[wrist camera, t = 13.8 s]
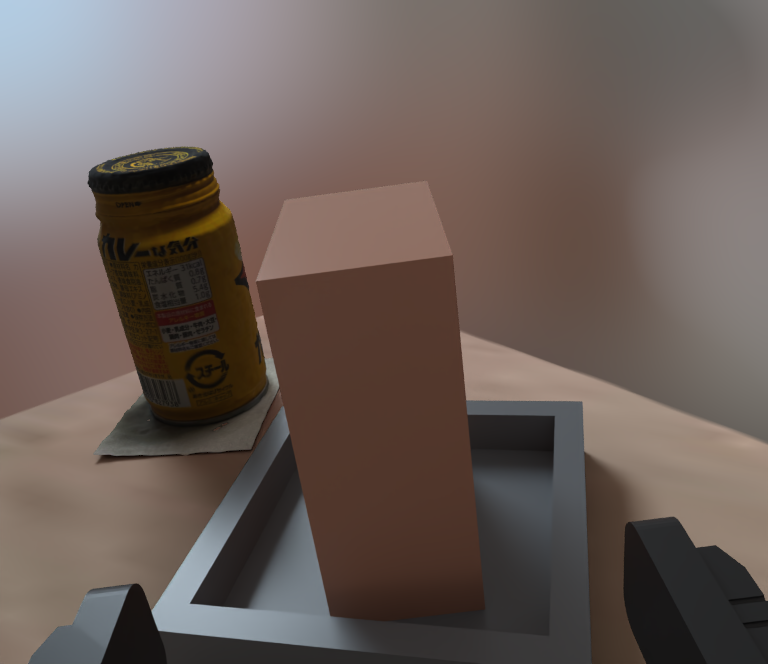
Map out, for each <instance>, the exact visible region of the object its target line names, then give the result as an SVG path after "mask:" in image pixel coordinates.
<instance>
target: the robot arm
mask: <svg viewBox="0 0 768 664" xmlns="http://www.w3.org/2000/svg"><path fill="white" fill-rule="evenodd" d="M624 601H625V607H626V612H627V616H628V620H629V623H630V626H631V629H632V631H633V634H634V636H635V639H636V641H637V643H638V645H639V648H640V650H641V652H642V655H643V657H644V659H645V661H646V664H768V601H766V600H765V598H764V594H763V593H762V591H761V590H760V589H759V587H758V586H757V584H756V583H755V581H754V580H753V578H752V577H751V575H750V574H749V572H748V571H747V569H746V568H745V567H744V566H742V565H741V564H740V563H738V562H737V561H736V560H735V559H733V558H732V557H731V556H729V555H728V554H727V553H725V552H724V551H723V550H721V549H720V548H719V547H717V546H716V545H715V546H707V547H699V548H696V547H695V546H694V544H693V542H692V541H691V539H690V538H689V536H688V534H687V533H686V531H685V529H684V528H683V526H682V525H681V523H680V522H679V521H678V519H676V518H675V517H666V518H658V519H651V520H643V521H635V522H628V523H627V524H626V527H625V547H624ZM28 664H167V659H166V652H165V648H164V645H163V642H162V639H161V636H160V634H159V631H158V628H157V626H156V623H155V620H154V617H153V615H152V612H151V609H150V607H149V604H148V601H147V598H146V596H145V593H144V591H143V589H142V587H141V586H140V585H139V584H128V585H120V586H112V587H105V588H97V589H92V590H90V591H89V592H88V593H87V594H86V596H85V598H84V600H83V602H82V604H81V606H80V609H79V611H78V613H77V615H76V618H75V620H74V622H73V624H72V625H69V626H61V627H57V628H56V630H55V631H54V632H53V633H52V634H51V635H50V636H49V637H48V638H47V640H46V641H45V642H44V643H43V644H42V645H41V646H40V647H39V648H38V650H37V651H36V652H35V653H34V654H33V655H32V657H31V659H30V661H29V663H28Z"/></svg>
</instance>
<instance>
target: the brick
mask: <svg viewBox="0 0 768 664" xmlns="http://www.w3.org/2000/svg"><path fill="white" fill-rule="evenodd" d="M256 284H257V288H258V293H259V297H260V302H261V306H262V311H263V315H264V320H265V324H266V329H267V333H268V338H269V342H270V347H271V351H272V356H273V360H274V365H275V369H276V374H277V378H278V383H279V387H280V392H281V396H282V401H283V405H284V410H285V414H286V419H287V423H288V428H289V432H290V437H291V441H292V446H293V450H294V455H295V459H296V464H297V469H298V473H299V478H300V482H301V487H302V491H303V496H304V500H305V505H306V509H307V514H308V518H309V523H310V527H311V532H312V536H313V541H314V545H315V550H316V554H317V559H318V563H319V568H320V572H321V577H322V581H323V586H324V590H325V595H326V599H327V604H328V608H329V613H330V616H331V617H342V618H353V619H365V620H376V621H391V620H400V619H408V618H417V617H425V616H434V615H442V614H451V613H459V612H468V611H476V610H485V600H484V590H483V579H482V568H481V557H480V546H479V535H478V525H477V514H476V503H475V492H474V481H473V470H472V460H471V449H470V438H469V427H468V416H467V405H466V395H465V384H464V373H463V362H462V351H461V340H460V330H459V319H458V308H457V297H456V286H455V276H454V265H453V255H452V252H451V249H450V246H449V243H448V240H447V238H446V235H445V232H444V229H443V226H442V223H441V220H440V217H439V215H438V212H437V209H436V206H435V203H434V200H433V197H432V195H431V192H430V189H429V186H428V183H427V181H421V182H414V183H406V184H400V185H392V186H384V187H377V188H370V189H362V190H355V191H347V192H340V193H333V194H325V195H318V196H310V197H303V198H296V199H288V200H285V202H284V205H283V207H282V210H281V213H280V216H279V218H278V221H277V224H276V227H275V230H274V232H273V235H272V238H271V241H270V244H269V246H268V249H267V252H266V255H265V257H264V260H263V263H262V266H261V269H260V272H259V274H258V277H257V280H256Z"/></svg>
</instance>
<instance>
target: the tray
mask: <svg viewBox="0 0 768 664" xmlns="http://www.w3.org/2000/svg"><path fill="white" fill-rule="evenodd" d="M466 405H467V416H468V427H469V438H470V449H471V460H472V470H473V481H474V492H475V503H476V514H477V525H478V535H479V546H480V557H481V568H482V579H483V590H484V600H485V610H476V611H468V612H459V613H451V614H442V615H434V616H425V617H417V618H408V619H400V620H391V621H376V620H365V619H353V618H342V617H331V616H330V613H329V608H328V604H327V599H326V595H325V590H324V586H323V581H322V577H321V572H320V568H319V563H318V559H317V554H316V550H315V545H314V541H313V536H312V532H311V527H310V523H309V518H308V514H307V509H306V505H305V500H304V496H303V491H302V487H301V482H300V478H299V473H298V469H297V464H296V459H295V455H294V450H293V446H292V441H291V437H290V432H289V428H288V423H287V419H286V414H285V410H284V405H283V406H282V408H281V409H280V411H279V413H278V414H277V416H276V417H275V419H274V420H273V422H272V424H271V425H270V427H269V428H268V430H267V431H266V433H265V435H264V436H263V438H262V439H261V441H260V442H259V444H258V446H257V447H256V449H255V450H254V452H253V453H252V455H251V457H250V458H249V460H248V461H247V463H246V464H245V466H244V468H243V469H242V471H241V472H240V474H239V475H238V477H237V479H236V480H235V482H234V483H233V485H232V486H231V488H230V489H229V491H228V493H227V494H226V496H225V497H224V499H223V500H222V502H221V504H220V505H219V507H218V508H217V510H216V511H215V513H214V515H213V516H212V518H211V519H210V521H209V522H208V524H207V526H206V527H205V529H204V530H203V532H202V533H201V535H200V537H199V538H198V540H197V541H196V543H195V544H194V546H193V548H192V549H191V551H190V552H189V554H188V555H187V557H186V559H185V560H184V562H183V563H182V565H181V566H180V568H179V570H178V571H177V573H176V574H175V576H174V577H173V579H172V580H171V582H170V584H169V585H168V587H167V588H166V590H165V591H164V593H163V595H162V596H161V598H160V599H159V601H158V602H157V604H156V606H155V607H154V609H153V610H152V615H153V617H154V620H155V623H156V626H157V628H158V631H159V634H160V636H161V639H162V642H163V645H164V648H165V652H166V659H167V664H592V656H591V628H590V601H589V573H588V545H587V517H586V489H585V462H584V434H583V406H582V402H573V401H466Z"/></svg>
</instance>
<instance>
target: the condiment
mask: <svg viewBox="0 0 768 664" xmlns="http://www.w3.org/2000/svg"><path fill="white" fill-rule="evenodd" d="M212 165H213V162H212V160H211V158H210V156H209V153H208V152H206V150H203V149H202V148H196V147H175V148H174V147H173V148H164V149H155V150H149V151H143V152H138V153H135V154H130V155H126V156H122V157H118V158H115V159H112V160H108V161H107V162H104V163H102V164H100V165H97V166H95V167H94V168H92V169H91V170H90V171H89V180H88V184H89V187H90V188H91V189H92V192H93V194H94V197H95V200H96V217H97V218H98V219H99V220H100V221H101V223H100V231H99V235H98V239H97V240H98V247H99V250H100V254H101V257H102V260H103V264H104V266H105V270H106V273H107V277H108V279H109V283H110V286H111V289H112V292H113V295H114V299H115V302H116V305H117V308H118V312H119V316H120V318H121V322H122V324H123V328H124V331H125V335H126V338H127V341H128V344H129V347H130V350H131V354H132V357H133V360H134V363H135V366H136V370H137V373H138V376H139V379H140V383H141V386H142V389H143V394H142V395H141V396H140V397H139V398H138V400H137V401H136V402H135V403H134V404H133V405H132V406H131V408H130V409H129V410H127V411H126V412H125V413H124V416H123V417H122V419H121V420H120V422H119V423H117V425H116V427H115V429H114V430H113V431H112V432H111V433H110V435H109V436H107V437H106V438H105V439H104V440H103V441H102V443H101V444H100V446H99V447H98V448H97V450H96V451H95V452H94V455H107V454H110V455H113V456H120V455H127V456H129V455H133V456H134V455H167V454H182V455H188V454H192V453H199V452H225V451H230V450H250V449H251V448H252V446H253V444H254V440H255V438H256V436H257V434H258V432H259V430H260V427H261V424H262V422H263V420H264V418H265V416H266V414H267V411H268V409H269V407H270V405H271V403H272V401H273V400H274V397H275V396H276V393H277V391H278V389H279V383H278V378H277V374H276V369H275V365H274V360H273V358H269V359H265V357H264V354H263V348H262V344H261V338H260V335H259V331H258V328H257V322H256V318H255V312H254V309H253V305H252V300H251V296H250V293H249V285H248V282H247V277H246V273H245V269H244V265H243V261H242V256H241V250H240V249H241V248H240V244H239V242H238V236H237V233H236V227H235V224H234V220H233V216H232V213H231V211H230V209H228V208H227V207H226V206H225V205H224V204H223V203H222V202H221V201H220V200H219V193H220V189H219V184H218V183H217V180H216V178H215V177H214V171H213V169H212ZM148 420H150V421H148ZM224 423H228V424H227V425H224V426H222V424H224ZM220 426H221V428H220V429H218V430H216V431H213V430H214V429H215V428H217V427H220Z"/></svg>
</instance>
